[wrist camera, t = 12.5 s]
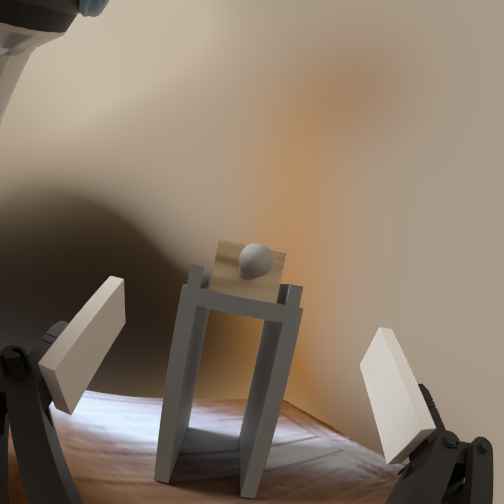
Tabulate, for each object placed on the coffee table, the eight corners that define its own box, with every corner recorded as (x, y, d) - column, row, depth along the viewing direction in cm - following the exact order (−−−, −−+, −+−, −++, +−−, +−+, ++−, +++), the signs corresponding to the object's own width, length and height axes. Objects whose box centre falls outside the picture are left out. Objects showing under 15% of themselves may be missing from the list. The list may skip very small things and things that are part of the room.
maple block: (312, 322, 18) (330, 224, 18) (179, 296, 18) (201, 197, 18) (268, 299, 45) (276, 259, 45) (214, 288, 44) (222, 248, 45)
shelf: (254, 498, 32) (308, 283, 35) (154, 479, 31) (188, 259, 35) (249, 437, 52) (283, 283, 55) (178, 423, 51) (206, 268, 55)
